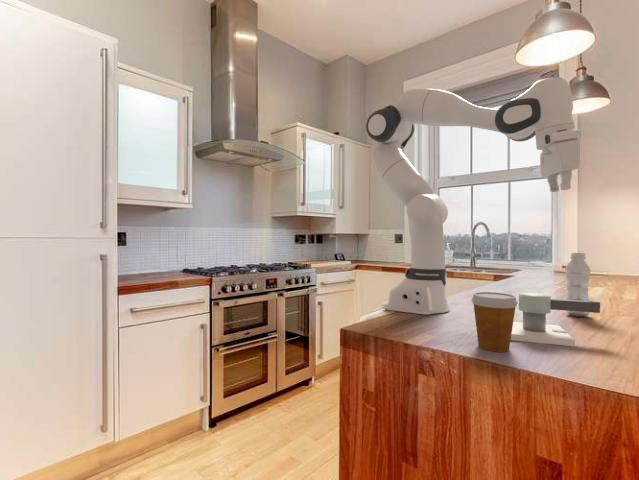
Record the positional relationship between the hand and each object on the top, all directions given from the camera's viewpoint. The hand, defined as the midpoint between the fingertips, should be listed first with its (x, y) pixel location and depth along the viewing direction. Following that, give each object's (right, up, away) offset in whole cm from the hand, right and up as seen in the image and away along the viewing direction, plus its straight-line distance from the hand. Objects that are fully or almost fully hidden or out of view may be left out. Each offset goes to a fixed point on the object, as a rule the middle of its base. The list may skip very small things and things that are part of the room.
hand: (560, 190), depth 95 cm
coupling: (-5, -31, -7) cm, 33 cm away
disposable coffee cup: (-25, -38, -15) cm, 48 cm away
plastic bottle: (+17, -38, +17) cm, 44 cm away
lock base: (-10, -38, -5) cm, 39 cm away
